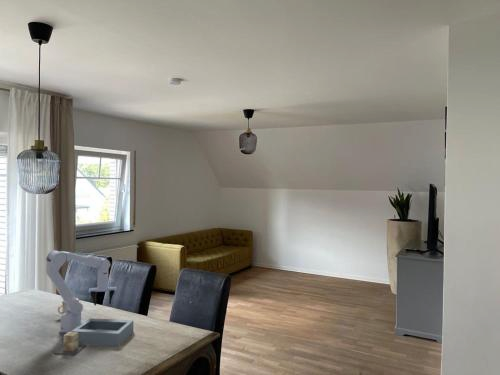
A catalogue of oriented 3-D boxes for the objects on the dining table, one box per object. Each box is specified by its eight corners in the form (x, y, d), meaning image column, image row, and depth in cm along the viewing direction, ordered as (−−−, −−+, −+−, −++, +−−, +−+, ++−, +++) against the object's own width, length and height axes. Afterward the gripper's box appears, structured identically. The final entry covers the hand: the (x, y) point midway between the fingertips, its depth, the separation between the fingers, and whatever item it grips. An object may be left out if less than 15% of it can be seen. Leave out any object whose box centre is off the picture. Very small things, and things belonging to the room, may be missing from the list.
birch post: (63, 350, 177) (63, 335, 177) (69, 346, 182) (69, 331, 182) (72, 351, 177) (72, 336, 177) (78, 347, 181) (78, 332, 181)
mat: (53, 354, 175) (53, 353, 175) (66, 345, 185) (66, 344, 185) (74, 355, 174) (74, 354, 174) (86, 346, 184) (86, 345, 184)
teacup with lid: (74, 311, 232) (74, 292, 232) (81, 315, 226) (82, 295, 226) (53, 317, 223) (54, 297, 222) (61, 320, 217) (61, 300, 217)
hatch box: (70, 343, 186) (71, 331, 186) (89, 329, 204) (89, 318, 204) (118, 346, 184) (118, 333, 184) (133, 331, 202) (133, 320, 202)
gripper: (87, 282, 208) (87, 307, 208) (116, 281, 212) (115, 305, 212) (89, 279, 215) (89, 303, 215) (117, 278, 219) (116, 302, 219)
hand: (102, 304), depth 214 cm, fingers open, 7 cm apart
